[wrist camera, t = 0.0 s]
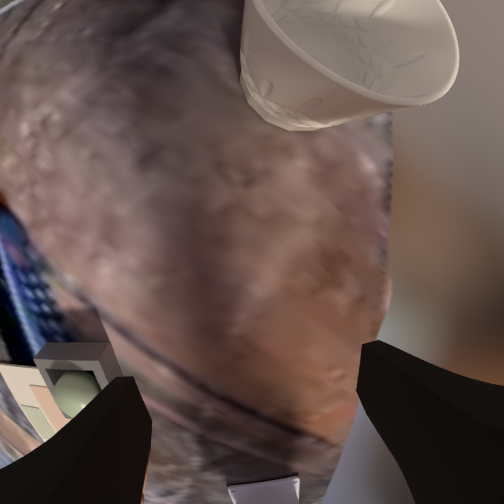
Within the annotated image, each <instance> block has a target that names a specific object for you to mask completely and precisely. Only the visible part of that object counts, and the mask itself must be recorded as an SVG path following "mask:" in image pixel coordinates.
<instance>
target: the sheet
mask: <svg viewBox="0 0 504 504" xmlns="http://www.w3.org/2000/svg"><path fill="white" fill-rule="evenodd" d="M0 372H1V374H2V376H3V378H4V380H5V382H6V383H7V385H8V387H9V389H10V390H11V392H12V394H13V396H14V397H15V399H16V401H17V402H18V404H19V406H20V407H21V409H22V410H23V412H24V413H25V415H26V417H27V418H28V420H29V421H30V422H31V424H32V425H33V427H34V428H35V430H36V431H37V432H38V434H39V435H40V437H41V438H42V439H43V441H44V442H46V441H47V440H48V439H50V438H51V437H52V436H53V435H55V434H56V433H57V432H58V431H59V430H60V429H61V428H62V427H64V426H65V425H66V424H67V423H68V422H69V421H70V420H71V419H67V418H65V417H64V415H63V414H62V412H61V410H60V409H59V407H58V406H57V404H56V403H55V401H54V399H53V397H52V395H51V393H50V391H49V389H48V387H47V386H46V384H45V382H44V380H43V378H42V376H41V374H40V372H39V370H38V368H37V367H34V366H23V365H13V364H5V363H0Z"/></svg>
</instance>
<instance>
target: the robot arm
mask: <svg viewBox="0 0 504 504" xmlns="http://www.w3.org/2000/svg"><path fill="white" fill-rule="evenodd" d="M356 391H357V394H358V396H359V398H360V401H361V403H362V405H363V407H364V410H365V411H366V414H367V416H368V417H369V419H370V421H371V422H372V424H373V425H374V427H375V428H376V430H377V432H378V433H379V435H380V436H381V438H382V439H383V441H384V442H385V444H386V446H387V447H388V449H389V450H390V452H391V453H392V455H393V456H394V458H395V460H396V461H397V463H398V465H399V467H400V469H401V471H402V473H403V475H404V477H405V479H406V482H407V484H408V486H409V488H410V491H411V493H412V495H413V498H414V501H415V504H504V386H501V385H496V384H491V383H487V382H482V381H479V380H475V379H471V378H467V377H465V376H462V375H459V374H456V373H453V372H451V371H448V370H445V369H443V368H440V367H438V366H435V365H433V364H431V363H428V362H426V361H424V360H422V359H419V358H417V357H415V356H413V355H411V354H409V353H407V352H404V351H402V350H400V349H398V348H396V347H394V346H392V345H389V344H387V343H385V342H382V341H380V340H376V341H373V342H369V343H365V344H362V349H361V358H360V367H359V374H358V382H357V388H356ZM151 434H152V419H151V417H150V415H149V413H148V410H147V408H146V406H145V404H144V401H143V399H142V397H141V394H140V392H139V389H138V387H137V384H136V382H135V379H134V377H133V376H130V377H115V378H114V379H113V380H112V381H111V382H110V383H109V384H108V385H106V386H105V387H104V388H103V389H102V390H101V391H100V392H99V393H98V394H97V395H96V396H95V397H94V398H93V399H92V400H91V401H90V402H89V403H88V404H87V405H86V406H85V407H84V408H83V409H82V410H81V411H80V412H79V413H78V414H77V415H76V416H75V417H74V418H73V419H71V420H70V421H69V422H68V423H67V424H66V425H65V426H64V427H62V428H61V429H60V430H59V431H58V432H57V433H56V434H55V435H53V436H52V437H51V438H50V439H48V440H47V441H46V442H44V443H43V444H42V445H40V446H39V447H37V448H36V449H34V450H33V451H32V452H30V453H29V454H27V455H25V456H24V457H22V458H20V459H18V460H17V461H15V462H13V463H11V464H9V465H7V466H6V467H4V468H2V469H0V504H141V498H142V492H143V486H144V480H145V475H146V470H147V464H148V459H149V453H150V448H151ZM299 484H300V478H299V476H293V477H288V478H283V479H277V480H271V481H265V482H258V483H251V484H242V485H232V486H228V492H229V494H230V497H231V499H232V501H233V504H299Z"/></svg>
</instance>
